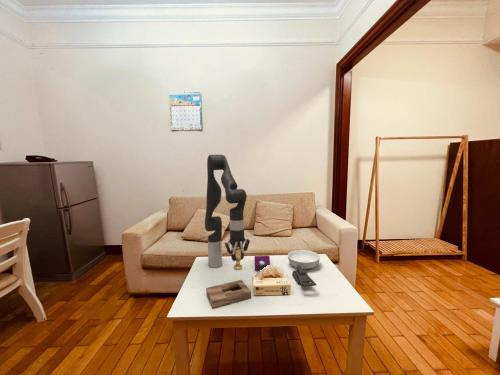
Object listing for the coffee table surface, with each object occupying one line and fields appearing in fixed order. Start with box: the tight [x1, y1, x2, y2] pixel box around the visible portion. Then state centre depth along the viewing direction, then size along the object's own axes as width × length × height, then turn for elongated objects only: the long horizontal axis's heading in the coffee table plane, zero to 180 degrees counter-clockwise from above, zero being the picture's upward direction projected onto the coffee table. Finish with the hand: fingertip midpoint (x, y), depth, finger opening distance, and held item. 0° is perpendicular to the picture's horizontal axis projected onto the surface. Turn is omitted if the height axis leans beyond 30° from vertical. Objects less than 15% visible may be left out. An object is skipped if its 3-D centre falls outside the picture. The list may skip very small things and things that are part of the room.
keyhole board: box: [205, 279, 252, 310], centre depth 122 cm, size 13×20×4 cm, turn 114°
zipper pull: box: [291, 266, 317, 287], centre depth 133 cm, size 9×7×25 cm
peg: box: [233, 247, 243, 271], centre depth 123 cm, size 4×4×11 cm
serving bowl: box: [287, 249, 321, 270], centre depth 156 cm, size 21×21×7 cm
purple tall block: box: [253, 255, 271, 271], centre depth 157 cm, size 10×8×18 cm
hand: (237, 259), depth 123 cm, fingers closed on peg, 3 cm apart
